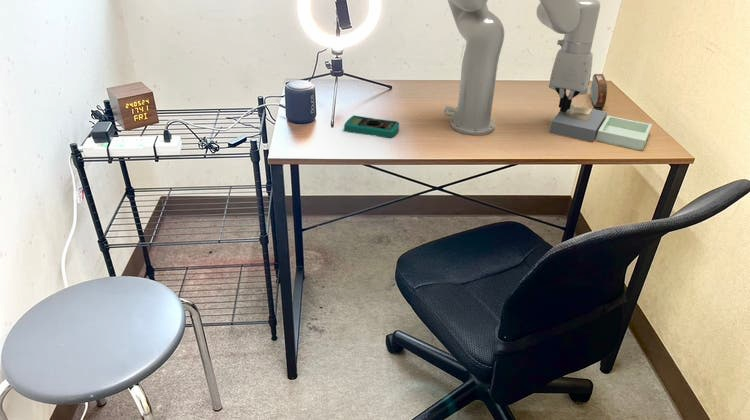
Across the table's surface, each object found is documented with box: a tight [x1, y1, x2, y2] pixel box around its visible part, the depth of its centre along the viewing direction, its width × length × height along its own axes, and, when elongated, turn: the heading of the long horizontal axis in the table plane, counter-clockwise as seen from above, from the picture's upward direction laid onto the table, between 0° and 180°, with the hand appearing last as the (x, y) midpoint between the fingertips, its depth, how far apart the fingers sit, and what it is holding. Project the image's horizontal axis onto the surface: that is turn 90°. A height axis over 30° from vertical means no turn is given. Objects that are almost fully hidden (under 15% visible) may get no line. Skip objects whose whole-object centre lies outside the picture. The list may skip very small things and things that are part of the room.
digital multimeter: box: [343, 115, 400, 139], centre depth 156 cm, size 7×15×3 cm, turn 73°
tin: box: [590, 73, 608, 109], centre depth 175 cm, size 15×3×8 cm, turn 168°
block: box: [569, 104, 593, 121], centre depth 158 cm, size 5×5×2 cm
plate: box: [548, 104, 608, 143], centre depth 159 cm, size 12×16×4 cm
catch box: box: [595, 115, 653, 152], centre depth 154 cm, size 12×13×3 cm
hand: (563, 110), depth 160 cm, fingers closed
